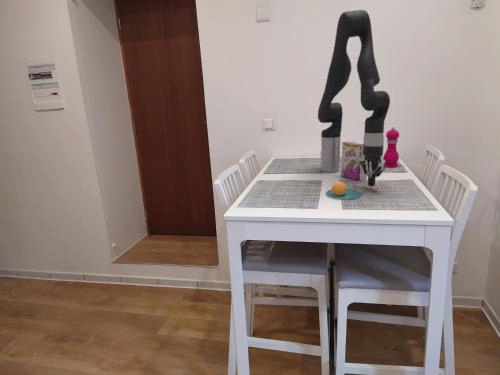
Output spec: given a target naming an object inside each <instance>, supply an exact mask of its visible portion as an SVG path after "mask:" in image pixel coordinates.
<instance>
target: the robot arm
mask: <svg viewBox="0 0 500 375" xmlns="http://www.w3.org/2000/svg"><path fill="white" fill-rule="evenodd" d="M335 32H336V33H335V40H334V47H333V51H332V55H331V56H332V57H331V61H330V65H329V68H328V73H327V77H326V82H325V87H324V91H323V95H322V97H321V99H320V103H319V106H318V110H317V119H318V121H319V123H321V124H329V123H331V124H330V125H329V127H327V128H325V129H323V130H322V131H321V135H320V137H321V138H320V140H321V144H320V145H321V146H320V147H321V150H320V170H321V172H324V173H337V172H340V171H341V140H342V139H341V135H342V134H341V132H342V126H343V124H342V122H343V107H342V106H343V105H342V104H341V103H340V102H333V100H334V99H335V98H336V96H337V95H338V94H339V93H341V91H342V90H343V89H344V88H345V87H346V85H347V84H348V82H349V79H350V75H351V72H352V63H351V60H350V57H349V54H348V51H347V49H348V48H347V47H348V41H349V39H350V38H354V37H355V38H356V37H358V38H359V40H360V52H359V56H358V59H357V63H356V70H357V75H358V79H359V82H360V104H361V107H363V109H364V111H368V112H371V111H372V114H371V115H370V116H367V117H366V118H365V121H364V134H363V142H362V143H363V155H364V156H365V158H364V161H361V162H360V163H361V165H362V168H363V171H364V173H365V174H367V185H368V186H369V187H375V185H376V178H377V177H380V176H381V175H382V174H383V172H384V171H385V169H386V167H385V166H384V165H383V164H382V159H381V158H382V157H383V156H384V144H385V134H384V131H385V130H384V129H385V121H386V118H387V114H388V111H389V108H390V106H391V105H390V103H391V99H390V98H391V97H390V95H389V93H388V92H386V91H385V90H377V91H376V90H375V87H376V86H378V84H379V83H380V81H381V77H380V75H379V70H378V67H377V62H376V58H375V53H374V43H373V42H374V41H373V33H372V23H371V17H370V15H369V13H368V12H367V10H365V9H357V10H347V11H344V12H342V13H341V14H340V16H339V18H338V22H337V26H336V31H335Z"/></svg>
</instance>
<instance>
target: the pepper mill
mask: <svg viewBox="0 0 500 375" xmlns="http://www.w3.org/2000/svg"><path fill="white" fill-rule="evenodd" d="M385 136H386V144H387V148H386V150H385V152H384V153H383V158H382V159H383V161H384V162H383V166H385V168H390V169H392V168H397V167H398V163H397V162H399V159H400V155H399V153H398V150H397V143H398V141H399V140H398V138H400V132H399V131H398V130H396V127H395V126H392V127H391V128H390V130H388V131H386V135H385Z"/></svg>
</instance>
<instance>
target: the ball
mask: <svg viewBox="0 0 500 375" xmlns="http://www.w3.org/2000/svg"><path fill="white" fill-rule="evenodd" d="M331 189H332V192H333V193H334V194H335V195H337V196H341V195H344V194H345V192H346V190H347V186H346V184H345V183H344V182H343V181H336V182H333V185H332V187H331Z"/></svg>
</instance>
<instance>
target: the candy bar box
mask: <svg viewBox="0 0 500 375" xmlns="http://www.w3.org/2000/svg"><path fill="white" fill-rule="evenodd" d="M341 144H342V146H341V148H342V149H341V177H345V178H348V179H352V180H355V181H359V182H361V181H364V180H367V179H368V176H367V174H365V173H364V171H363V168H362V165H361V163H360V162H361V161H364V158H365V156H364V155H363V142H359V141H352V140H346V141H342V143H341Z"/></svg>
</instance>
